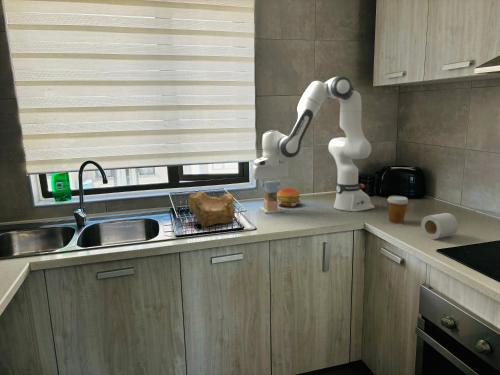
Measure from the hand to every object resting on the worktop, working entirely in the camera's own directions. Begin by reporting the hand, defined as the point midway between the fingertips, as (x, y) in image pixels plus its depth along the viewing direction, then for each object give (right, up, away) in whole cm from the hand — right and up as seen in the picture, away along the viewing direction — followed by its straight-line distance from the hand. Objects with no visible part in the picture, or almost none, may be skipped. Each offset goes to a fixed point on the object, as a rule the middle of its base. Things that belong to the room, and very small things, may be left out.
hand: (270, 185), depth 200 cm
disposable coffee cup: (+61, -18, -19) cm, 66 cm away
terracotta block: (0, -13, +3) cm, 13 cm away
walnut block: (0, -8, +2) cm, 8 cm away
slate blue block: (0, -3, 0) cm, 3 cm away
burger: (+11, -11, +14) cm, 21 cm away
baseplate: (0, -14, +3) cm, 14 cm away
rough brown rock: (-31, -19, -18) cm, 40 cm away
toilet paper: (+70, -22, -41) cm, 84 cm away
